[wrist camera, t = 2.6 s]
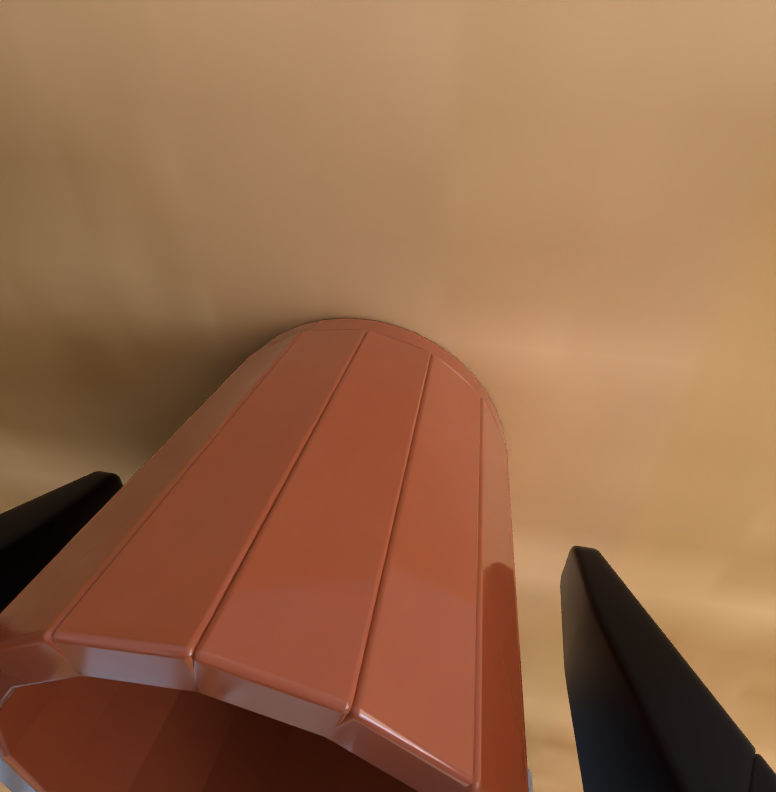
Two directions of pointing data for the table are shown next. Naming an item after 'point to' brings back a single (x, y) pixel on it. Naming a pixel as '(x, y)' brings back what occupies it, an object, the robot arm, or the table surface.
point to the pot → (286, 593)
